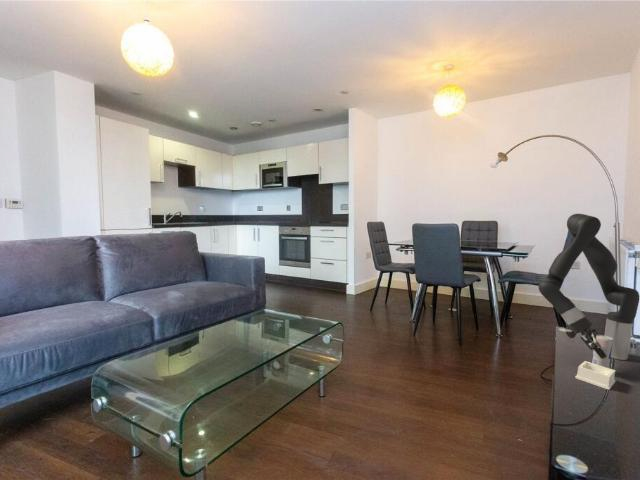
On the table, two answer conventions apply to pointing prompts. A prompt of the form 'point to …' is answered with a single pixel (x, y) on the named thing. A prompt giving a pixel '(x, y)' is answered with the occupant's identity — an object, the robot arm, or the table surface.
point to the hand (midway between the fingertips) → (606, 355)
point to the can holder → (596, 375)
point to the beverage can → (606, 347)
